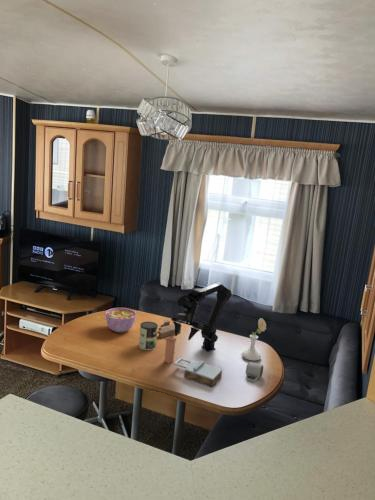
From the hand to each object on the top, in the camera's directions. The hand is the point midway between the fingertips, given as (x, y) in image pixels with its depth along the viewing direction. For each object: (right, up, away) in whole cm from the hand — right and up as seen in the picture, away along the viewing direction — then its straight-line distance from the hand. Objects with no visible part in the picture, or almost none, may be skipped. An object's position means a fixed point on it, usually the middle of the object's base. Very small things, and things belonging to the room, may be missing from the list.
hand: (182, 337), depth 220 cm
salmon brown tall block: (-8, -14, +3) cm, 16 cm away
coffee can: (-21, -9, +19) cm, 30 cm away
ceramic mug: (+39, -20, -6) cm, 44 cm away
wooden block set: (-13, -6, +43) cm, 45 cm away
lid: (+8, -14, -10) cm, 19 cm away
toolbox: (+11, -18, -10) cm, 24 cm away
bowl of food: (-41, -3, +38) cm, 56 cm away
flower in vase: (+42, -16, +17) cm, 48 cm away
